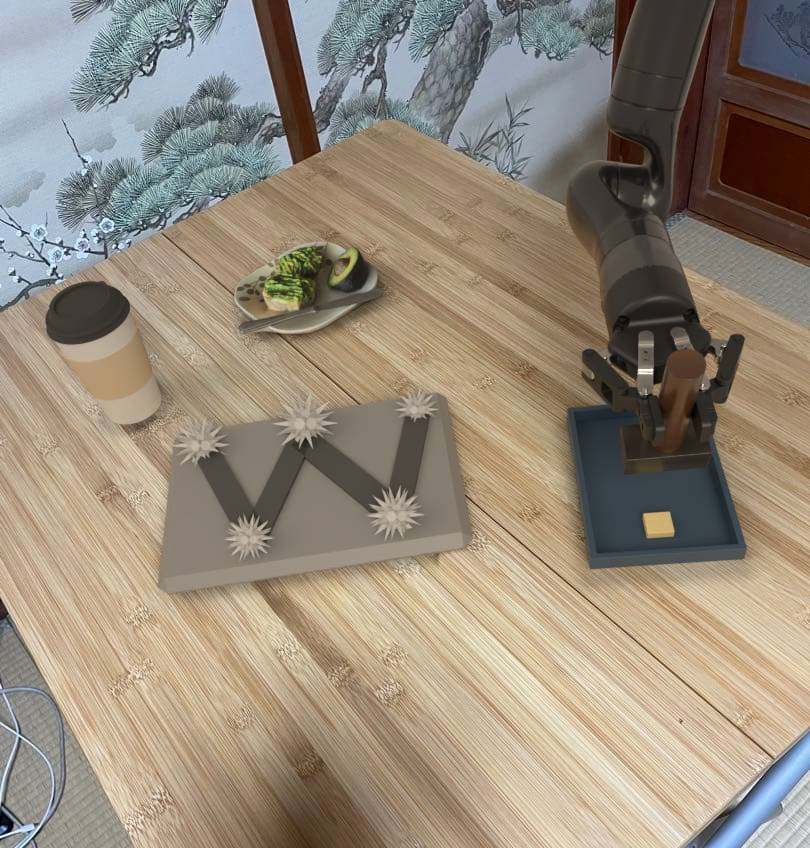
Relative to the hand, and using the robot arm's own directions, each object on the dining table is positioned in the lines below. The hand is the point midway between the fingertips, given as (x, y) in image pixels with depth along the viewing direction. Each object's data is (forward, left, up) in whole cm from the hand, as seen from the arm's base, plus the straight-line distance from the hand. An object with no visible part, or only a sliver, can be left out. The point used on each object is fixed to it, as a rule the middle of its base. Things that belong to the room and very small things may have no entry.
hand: (682, 436), depth 64 cm
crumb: (0, -2, -14) cm, 14 cm away
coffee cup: (+47, -40, -15) cm, 64 cm away
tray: (-2, -7, -15) cm, 16 cm away
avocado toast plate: (+23, -52, -15) cm, 59 cm away
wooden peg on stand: (-1, -5, -7) cm, 9 cm away
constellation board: (+29, -18, -15) cm, 37 cm away
